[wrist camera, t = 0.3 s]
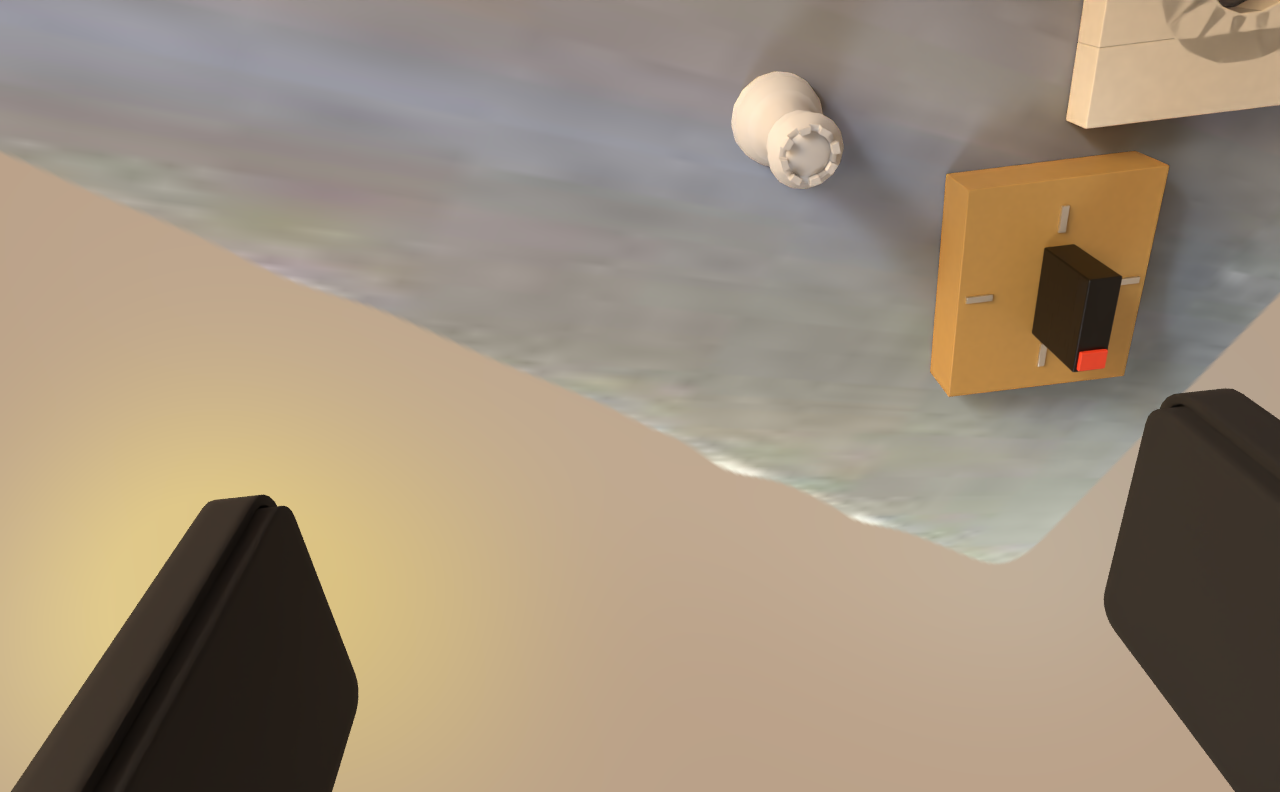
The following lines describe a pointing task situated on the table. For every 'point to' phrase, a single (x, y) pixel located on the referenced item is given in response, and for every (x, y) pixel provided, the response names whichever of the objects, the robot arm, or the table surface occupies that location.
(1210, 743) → the robot arm
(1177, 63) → the white socket plate
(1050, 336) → the black battery pack
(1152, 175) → the orange dial base
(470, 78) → the table surface
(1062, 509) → the table surface
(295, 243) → the table surface
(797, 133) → the rook chess piece
